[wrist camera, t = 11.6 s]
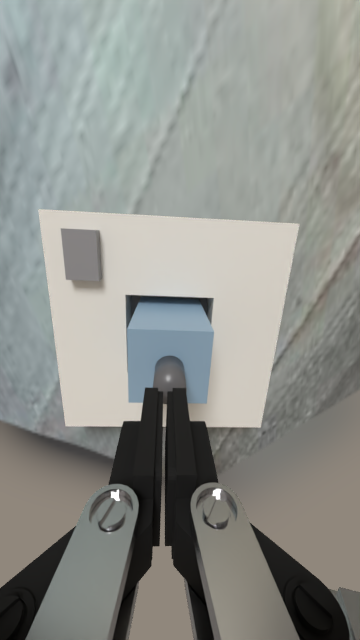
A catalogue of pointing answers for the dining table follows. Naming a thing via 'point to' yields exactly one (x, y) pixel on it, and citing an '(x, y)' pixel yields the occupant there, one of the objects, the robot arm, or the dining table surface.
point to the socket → (164, 281)
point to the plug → (169, 348)
